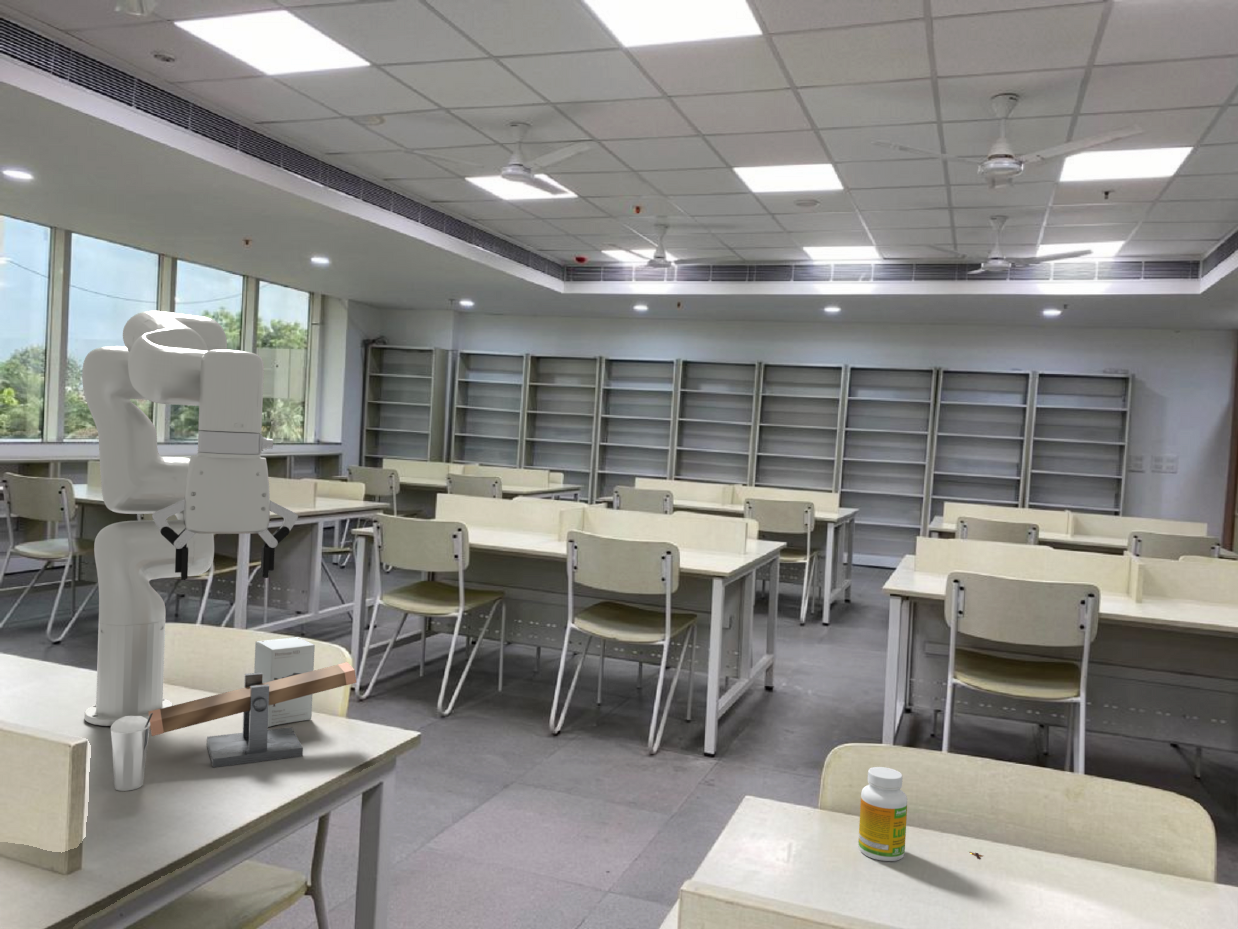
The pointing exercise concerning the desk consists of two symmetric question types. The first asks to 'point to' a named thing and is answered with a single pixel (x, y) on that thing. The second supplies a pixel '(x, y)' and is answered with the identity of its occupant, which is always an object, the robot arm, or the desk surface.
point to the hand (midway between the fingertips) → (225, 577)
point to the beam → (240, 698)
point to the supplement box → (285, 674)
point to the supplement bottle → (883, 815)
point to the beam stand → (254, 733)
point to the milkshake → (129, 751)
